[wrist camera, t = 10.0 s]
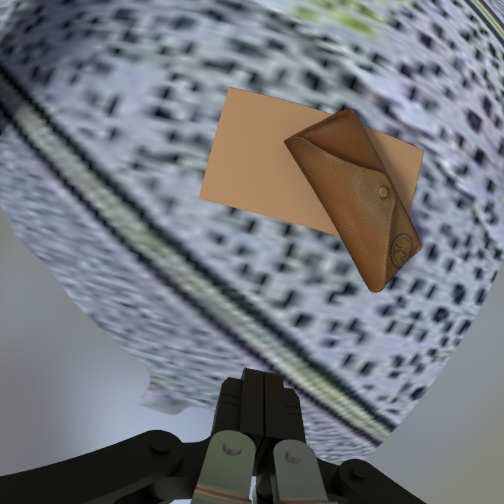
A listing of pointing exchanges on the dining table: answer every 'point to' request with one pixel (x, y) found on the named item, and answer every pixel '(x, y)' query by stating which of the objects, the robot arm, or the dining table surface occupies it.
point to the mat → (284, 161)
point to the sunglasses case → (356, 195)
